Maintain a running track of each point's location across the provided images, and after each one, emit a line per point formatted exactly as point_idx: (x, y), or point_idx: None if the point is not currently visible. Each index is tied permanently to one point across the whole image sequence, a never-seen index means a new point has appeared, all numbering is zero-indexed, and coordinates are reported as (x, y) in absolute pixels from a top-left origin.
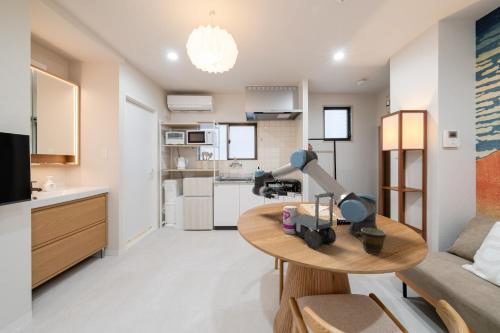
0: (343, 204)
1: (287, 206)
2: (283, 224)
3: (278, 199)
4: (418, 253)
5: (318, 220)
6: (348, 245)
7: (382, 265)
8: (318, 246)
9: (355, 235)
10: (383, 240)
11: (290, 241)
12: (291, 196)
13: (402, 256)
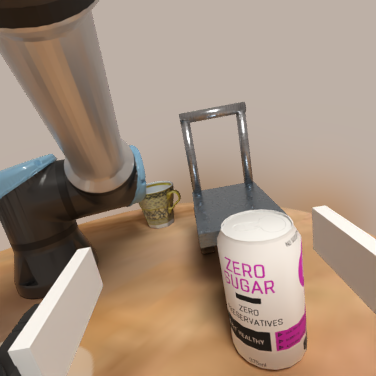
0: (141, 159)
1: (267, 233)
2: (305, 312)
3: (316, 247)
4: (106, 218)
5: (215, 198)
6: (169, 240)
7: (192, 205)
8: None
9: (180, 196)
10: (157, 191)
11: (304, 271)
12: (87, 312)
13: (137, 215)
